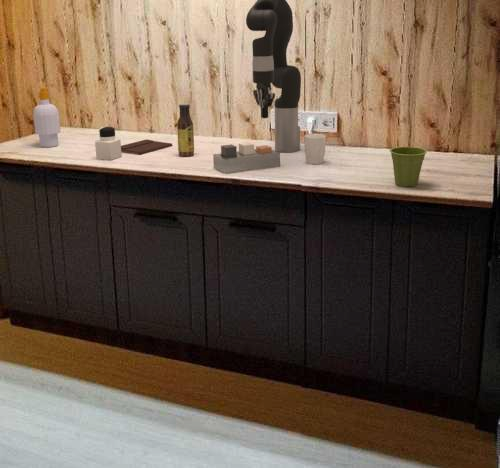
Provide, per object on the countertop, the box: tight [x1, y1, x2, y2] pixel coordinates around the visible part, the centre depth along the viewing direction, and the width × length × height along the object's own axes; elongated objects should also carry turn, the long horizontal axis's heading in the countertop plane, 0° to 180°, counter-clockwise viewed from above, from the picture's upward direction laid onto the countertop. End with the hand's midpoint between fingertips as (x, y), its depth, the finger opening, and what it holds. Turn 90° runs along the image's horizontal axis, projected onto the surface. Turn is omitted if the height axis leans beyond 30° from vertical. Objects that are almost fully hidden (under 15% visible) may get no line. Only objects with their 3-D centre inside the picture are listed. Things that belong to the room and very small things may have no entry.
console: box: [212, 148, 281, 174], centre depth 265 cm, size 22×10×5 cm, turn 116°
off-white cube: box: [238, 142, 255, 155], centre depth 264 cm, size 4×4×4 cm
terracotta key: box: [255, 145, 273, 153], centre depth 267 cm, size 4×4×4 cm
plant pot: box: [389, 146, 428, 187], centre depth 237 cm, size 12×12×11 cm
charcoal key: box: [220, 144, 238, 157], centre depth 261 cm, size 4×4×4 cm
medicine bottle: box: [94, 126, 123, 161], centre depth 283 cm, size 7×7×12 cm
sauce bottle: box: [176, 103, 195, 157], centre depth 284 cm, size 7×6×20 cm
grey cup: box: [303, 133, 327, 165], centre depth 269 cm, size 8×8×10 cm
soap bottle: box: [32, 86, 61, 148], centre depth 305 cm, size 10×10×24 cm
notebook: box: [121, 139, 173, 156], centre depth 300 cm, size 15×20×2 cm
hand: (264, 117), depth 263 cm, fingers closed
